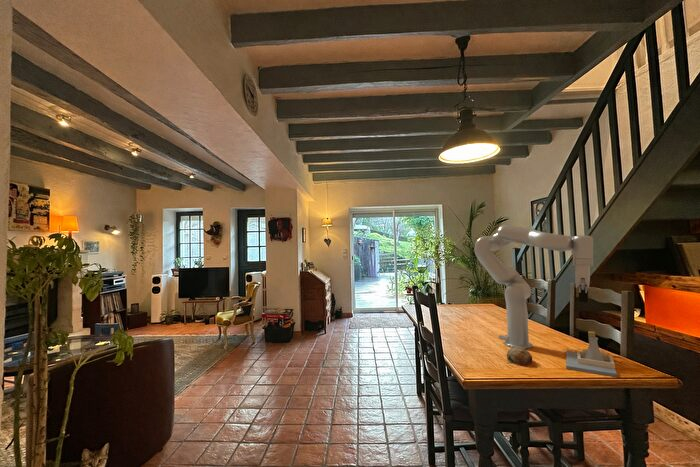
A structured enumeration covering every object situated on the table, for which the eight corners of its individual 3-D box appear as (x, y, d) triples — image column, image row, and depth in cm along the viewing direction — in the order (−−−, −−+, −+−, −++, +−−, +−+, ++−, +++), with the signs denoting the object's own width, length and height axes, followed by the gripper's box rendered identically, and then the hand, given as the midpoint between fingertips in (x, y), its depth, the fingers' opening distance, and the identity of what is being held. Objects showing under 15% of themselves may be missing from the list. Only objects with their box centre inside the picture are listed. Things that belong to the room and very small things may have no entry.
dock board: (566, 368, 130) (565, 359, 130) (567, 352, 150) (566, 344, 150) (617, 377, 121) (616, 366, 121) (610, 358, 141) (610, 350, 141)
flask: (609, 365, 130) (607, 340, 131) (589, 364, 132) (587, 339, 132) (599, 359, 137) (598, 335, 138) (580, 358, 139) (579, 335, 139)
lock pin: (590, 356, 139) (589, 338, 140) (589, 348, 151) (588, 331, 152) (597, 357, 138) (596, 339, 138) (595, 349, 150) (594, 331, 150)
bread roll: (505, 367, 142) (498, 352, 141) (519, 354, 146) (513, 339, 145) (525, 375, 133) (518, 358, 132) (539, 361, 137) (533, 345, 136)
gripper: (573, 261, 154) (574, 297, 153) (571, 263, 140) (572, 302, 139) (593, 262, 149) (593, 298, 149) (593, 263, 135) (594, 304, 135)
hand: (583, 300), depth 144 cm, fingers open, 9 cm apart
